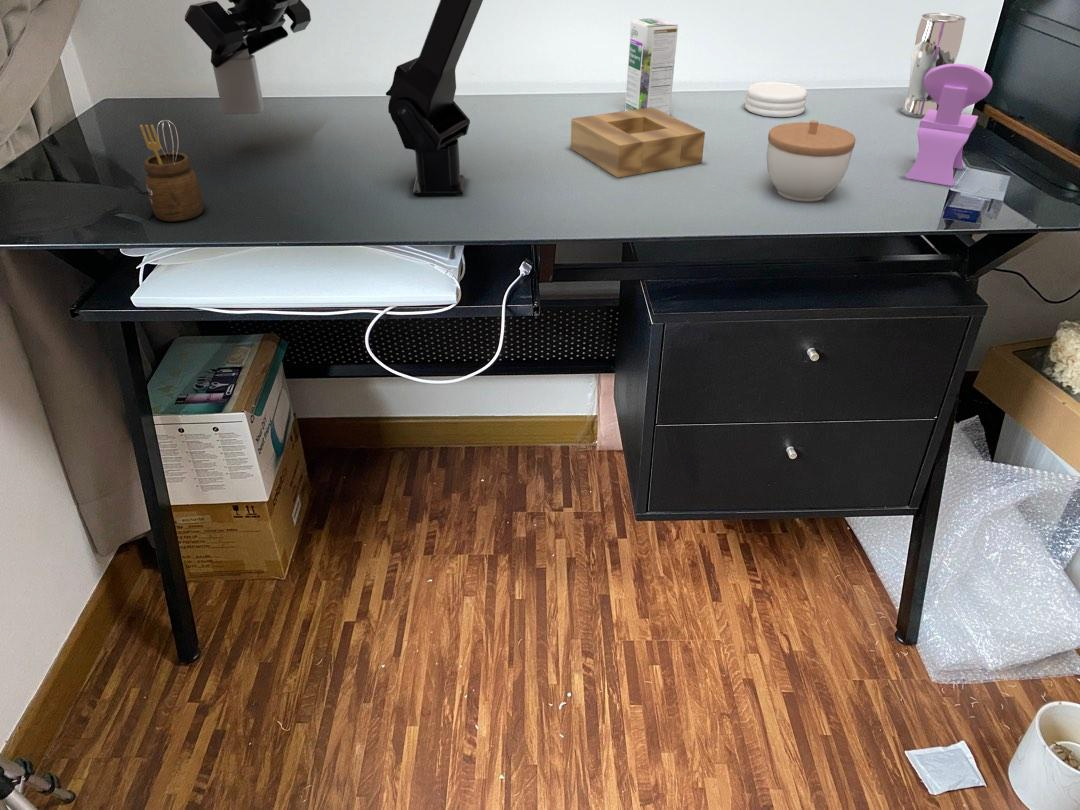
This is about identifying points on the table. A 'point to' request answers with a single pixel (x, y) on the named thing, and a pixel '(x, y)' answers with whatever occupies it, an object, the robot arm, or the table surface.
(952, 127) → the chair
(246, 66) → the power adapter
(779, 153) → the trinket box
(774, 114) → the white layered disc
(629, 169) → the block
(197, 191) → the utensil holder
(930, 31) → the silver tumbler
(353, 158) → the table surface
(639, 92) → the syrup box
